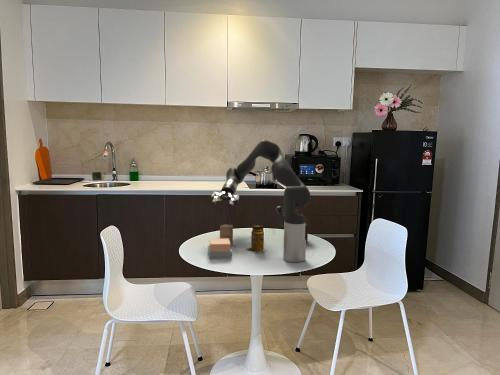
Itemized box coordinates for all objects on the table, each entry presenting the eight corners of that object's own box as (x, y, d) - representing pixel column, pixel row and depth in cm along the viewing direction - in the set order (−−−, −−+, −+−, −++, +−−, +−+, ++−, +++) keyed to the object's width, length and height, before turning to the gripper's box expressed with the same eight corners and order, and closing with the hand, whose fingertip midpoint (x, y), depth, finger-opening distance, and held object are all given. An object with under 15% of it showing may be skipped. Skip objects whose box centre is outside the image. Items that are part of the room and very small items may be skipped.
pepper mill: (301, 237, 210) (302, 204, 207) (308, 242, 199) (309, 209, 196) (274, 237, 207) (275, 205, 205) (278, 243, 196) (280, 209, 194)
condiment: (267, 250, 184) (267, 226, 183) (252, 253, 180) (253, 228, 178) (258, 246, 191) (259, 223, 189) (244, 249, 186) (244, 225, 184)
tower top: (228, 245, 181) (228, 238, 181) (230, 251, 173) (230, 243, 172) (209, 246, 180) (209, 238, 180) (210, 251, 171) (210, 244, 171)
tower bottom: (229, 252, 183) (229, 245, 182) (232, 258, 173) (232, 251, 172) (208, 253, 181) (208, 245, 180) (210, 259, 171) (210, 252, 171)
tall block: (223, 243, 195) (223, 224, 194) (232, 244, 194) (233, 225, 192) (219, 245, 191) (219, 226, 189) (229, 247, 189) (229, 227, 188)
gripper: (216, 181, 209) (208, 196, 195) (242, 185, 207) (235, 200, 193) (216, 193, 212) (208, 209, 199) (241, 196, 211) (235, 212, 197)
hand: (222, 204), depth 196 cm, fingers open, 8 cm apart
